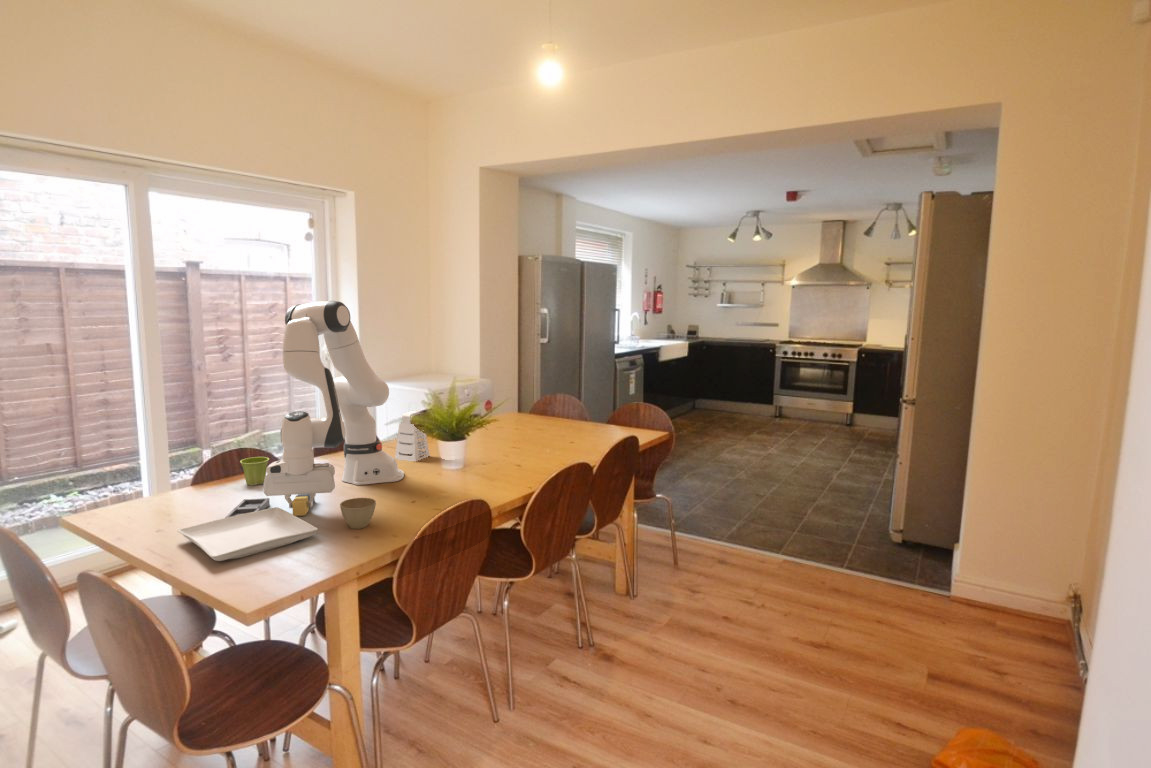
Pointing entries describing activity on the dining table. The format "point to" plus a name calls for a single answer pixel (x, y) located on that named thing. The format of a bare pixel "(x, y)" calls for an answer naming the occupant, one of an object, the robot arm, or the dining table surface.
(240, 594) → the dining table surface
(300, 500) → the yellow block
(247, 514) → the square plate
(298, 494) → the plug slate
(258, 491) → the dining table surface
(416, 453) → the grater
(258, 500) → the grey flat frame
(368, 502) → the flower pot
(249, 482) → the plant pot
